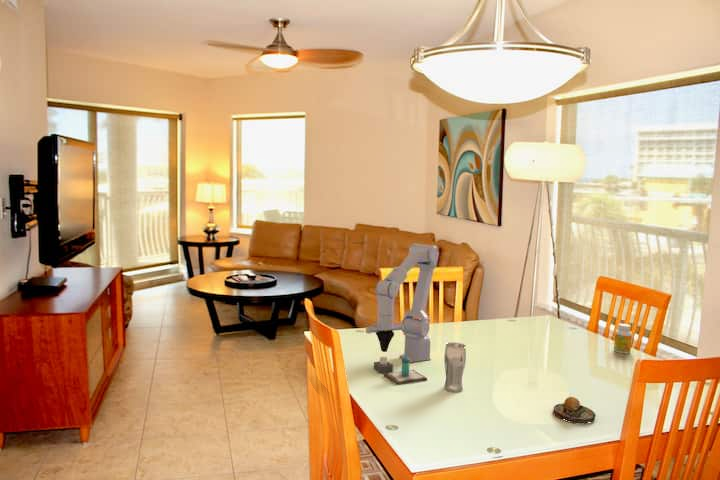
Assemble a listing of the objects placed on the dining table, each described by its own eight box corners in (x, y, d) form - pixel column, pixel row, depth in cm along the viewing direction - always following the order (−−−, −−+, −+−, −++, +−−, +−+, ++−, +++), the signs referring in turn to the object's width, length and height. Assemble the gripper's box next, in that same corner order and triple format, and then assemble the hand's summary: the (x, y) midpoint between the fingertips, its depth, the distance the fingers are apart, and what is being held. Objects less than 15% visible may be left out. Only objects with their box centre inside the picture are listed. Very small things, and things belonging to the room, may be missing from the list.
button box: (386, 367, 212) (386, 360, 212) (392, 371, 208) (393, 364, 208) (373, 369, 210) (374, 362, 210) (380, 373, 206) (380, 366, 205)
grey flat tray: (413, 371, 209) (413, 368, 209) (426, 380, 201) (427, 376, 201) (383, 376, 203) (383, 372, 203) (396, 384, 195) (396, 380, 195)
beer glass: (451, 394, 189) (453, 349, 187) (438, 386, 195) (440, 343, 193) (468, 391, 192) (470, 347, 190) (455, 384, 198) (457, 341, 196)
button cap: (385, 365, 211) (385, 356, 210) (388, 367, 208) (389, 358, 208) (378, 365, 209) (378, 357, 209) (381, 368, 207) (382, 359, 207)
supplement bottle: (614, 352, 241) (616, 325, 240) (613, 348, 247) (615, 322, 246) (630, 354, 239) (633, 327, 238) (629, 350, 245) (632, 324, 243)
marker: (406, 373, 204) (406, 356, 203) (410, 375, 201) (411, 359, 201) (399, 374, 202) (400, 357, 202) (403, 377, 200) (404, 360, 200)
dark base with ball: (603, 423, 171) (605, 399, 170) (566, 426, 169) (568, 401, 168) (579, 407, 183) (581, 384, 182) (545, 409, 180) (547, 386, 179)
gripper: (397, 309, 213) (396, 345, 215) (362, 312, 207) (360, 349, 208) (407, 314, 207) (405, 351, 209) (371, 317, 201) (369, 355, 202)
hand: (384, 351), depth 208 cm, fingers closed
